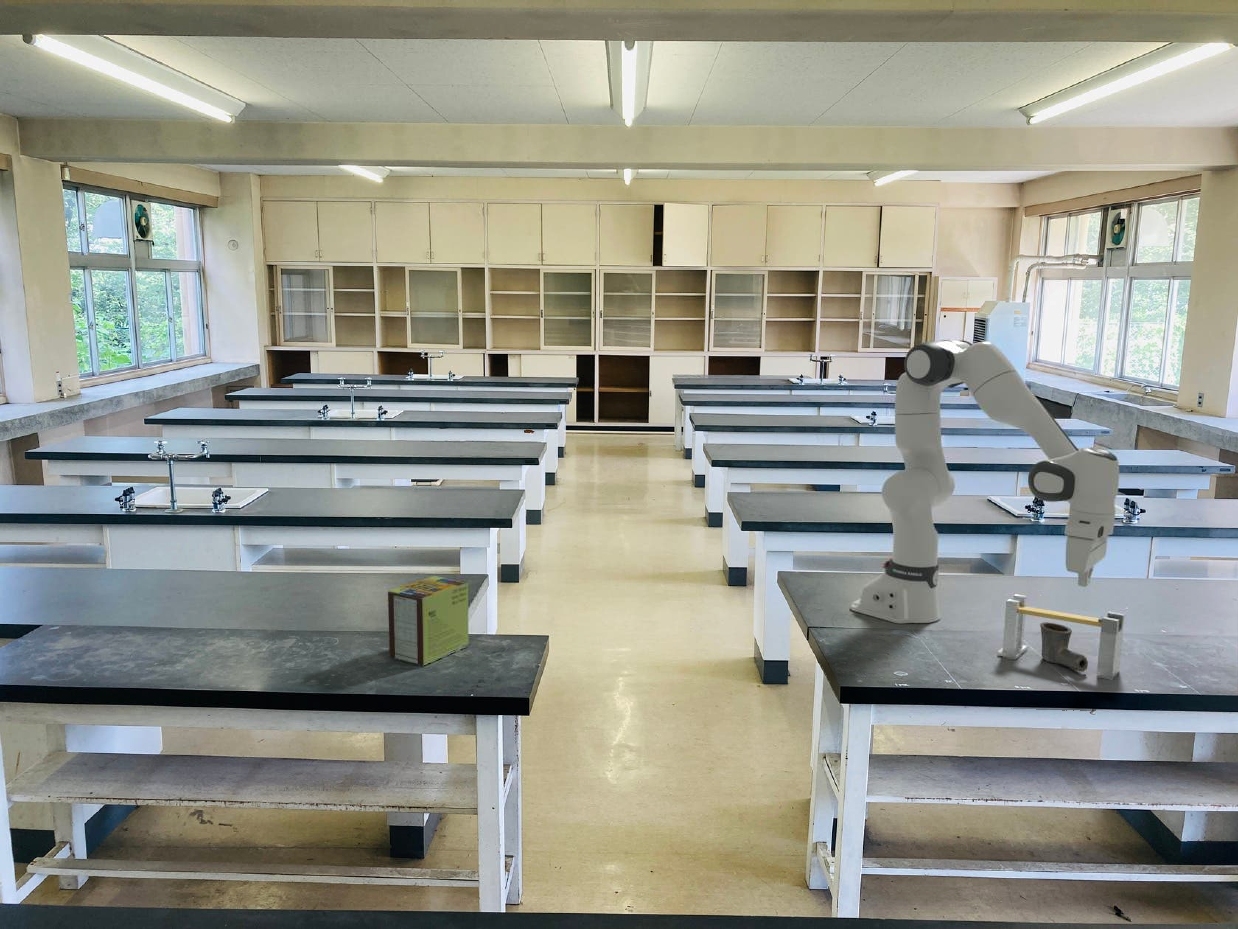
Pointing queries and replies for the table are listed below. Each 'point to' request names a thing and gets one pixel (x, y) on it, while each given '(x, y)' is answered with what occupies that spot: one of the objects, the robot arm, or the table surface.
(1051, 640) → the pipe
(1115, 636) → the stop block
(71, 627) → the table surface
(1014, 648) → the grey slotted stand
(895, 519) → the robot arm
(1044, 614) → the yellow bar
